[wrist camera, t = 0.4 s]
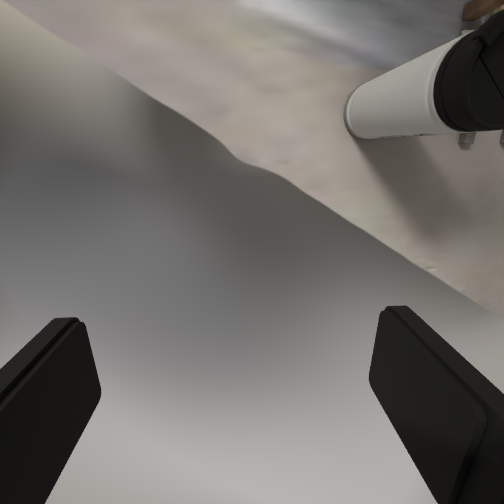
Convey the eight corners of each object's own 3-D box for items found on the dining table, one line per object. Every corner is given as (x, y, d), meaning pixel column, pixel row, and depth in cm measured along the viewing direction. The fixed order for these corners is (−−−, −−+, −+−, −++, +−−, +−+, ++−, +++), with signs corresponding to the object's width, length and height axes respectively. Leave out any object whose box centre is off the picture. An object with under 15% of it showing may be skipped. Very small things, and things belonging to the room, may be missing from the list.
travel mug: (370, 67, 33) (547, -37, 14) (403, 110, 35) (598, 67, 16) (330, 111, 34) (445, 67, 16) (364, 150, 36) (503, 153, 18)
